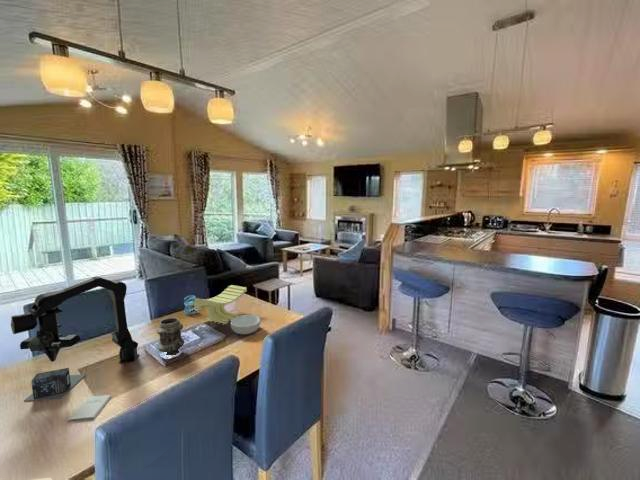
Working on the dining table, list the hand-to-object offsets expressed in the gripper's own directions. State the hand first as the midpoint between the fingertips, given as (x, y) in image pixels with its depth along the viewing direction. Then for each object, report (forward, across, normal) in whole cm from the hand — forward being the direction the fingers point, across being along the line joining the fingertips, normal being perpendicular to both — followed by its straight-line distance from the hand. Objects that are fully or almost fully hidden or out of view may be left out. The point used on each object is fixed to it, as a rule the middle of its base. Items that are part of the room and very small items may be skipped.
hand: (53, 361), depth 125 cm
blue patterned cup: (+12, +32, +77) cm, 84 cm away
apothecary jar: (+12, +38, +22) cm, 46 cm away
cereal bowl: (+12, +72, +44) cm, 85 cm away
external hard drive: (+13, +22, -15) cm, 29 cm away
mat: (+12, 0, 0) cm, 12 cm away
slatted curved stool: (+12, +55, +65) cm, 86 cm away
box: (+8, +6, -2) cm, 10 cm away
